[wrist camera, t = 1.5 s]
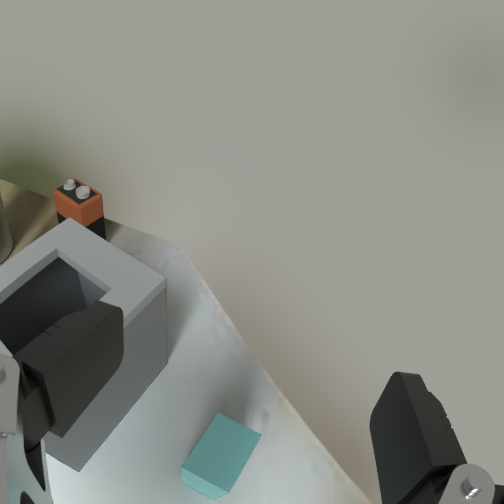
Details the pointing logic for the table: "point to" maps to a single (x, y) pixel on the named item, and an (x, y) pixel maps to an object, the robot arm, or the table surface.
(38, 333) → the slot box
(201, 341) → the table surface
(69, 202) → the battery
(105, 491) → the table surface
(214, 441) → the teal rectangular block
